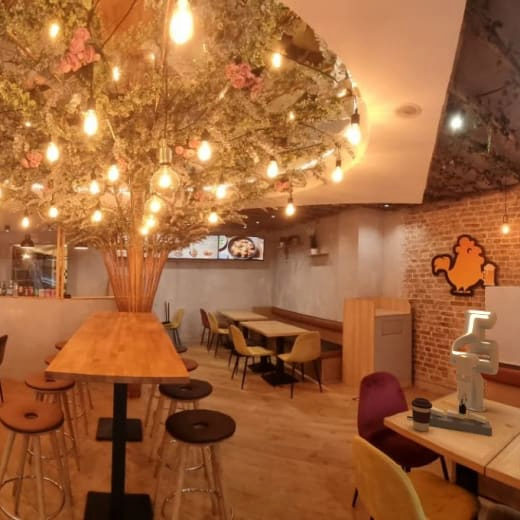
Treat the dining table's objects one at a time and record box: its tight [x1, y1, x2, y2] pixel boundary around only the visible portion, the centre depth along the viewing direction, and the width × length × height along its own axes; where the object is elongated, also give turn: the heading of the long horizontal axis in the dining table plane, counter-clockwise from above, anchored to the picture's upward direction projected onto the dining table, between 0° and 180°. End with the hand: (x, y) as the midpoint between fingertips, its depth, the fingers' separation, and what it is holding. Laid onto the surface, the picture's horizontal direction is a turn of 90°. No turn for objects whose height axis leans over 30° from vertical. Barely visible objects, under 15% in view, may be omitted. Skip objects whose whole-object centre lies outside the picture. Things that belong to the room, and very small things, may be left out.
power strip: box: [406, 413, 493, 437], centre depth 217 cm, size 10×40×5 cm, turn 69°
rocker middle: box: [446, 408, 466, 419], centre depth 218 cm, size 5×8×2 cm, turn 69°
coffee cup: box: [411, 397, 433, 432], centre depth 211 cm, size 10×10×15 cm
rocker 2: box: [467, 410, 487, 424], centre depth 214 cm, size 5×8×2 cm, turn 69°
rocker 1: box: [431, 406, 445, 417], centre depth 221 cm, size 5×8×2 cm, turn 69°
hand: (462, 413), depth 216 cm, fingers closed
